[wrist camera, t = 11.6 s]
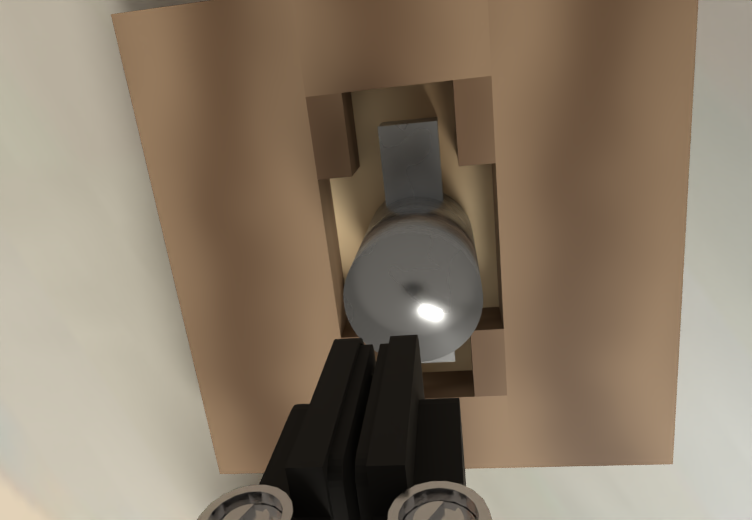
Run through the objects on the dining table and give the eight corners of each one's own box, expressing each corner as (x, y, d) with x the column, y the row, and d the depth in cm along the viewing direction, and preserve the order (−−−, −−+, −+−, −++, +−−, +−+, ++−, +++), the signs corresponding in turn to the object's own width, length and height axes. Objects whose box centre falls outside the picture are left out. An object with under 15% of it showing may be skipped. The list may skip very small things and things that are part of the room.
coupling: (479, 342, 23) (490, 432, 18) (381, 346, 24) (362, 435, 18) (465, 113, 21) (473, 134, 15) (354, 124, 21) (322, 149, 16)
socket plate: (669, -54, 19) (702, -70, 16) (650, 425, 24) (672, 464, 22) (147, 19, 21) (110, 14, 19) (239, 437, 27) (220, 474, 25)
